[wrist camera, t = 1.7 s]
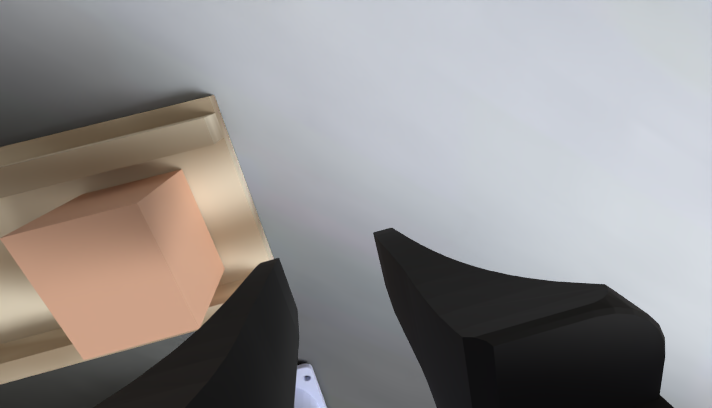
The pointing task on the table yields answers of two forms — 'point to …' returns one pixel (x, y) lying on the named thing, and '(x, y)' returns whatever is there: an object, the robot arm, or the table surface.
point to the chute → (107, 169)
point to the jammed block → (122, 264)
